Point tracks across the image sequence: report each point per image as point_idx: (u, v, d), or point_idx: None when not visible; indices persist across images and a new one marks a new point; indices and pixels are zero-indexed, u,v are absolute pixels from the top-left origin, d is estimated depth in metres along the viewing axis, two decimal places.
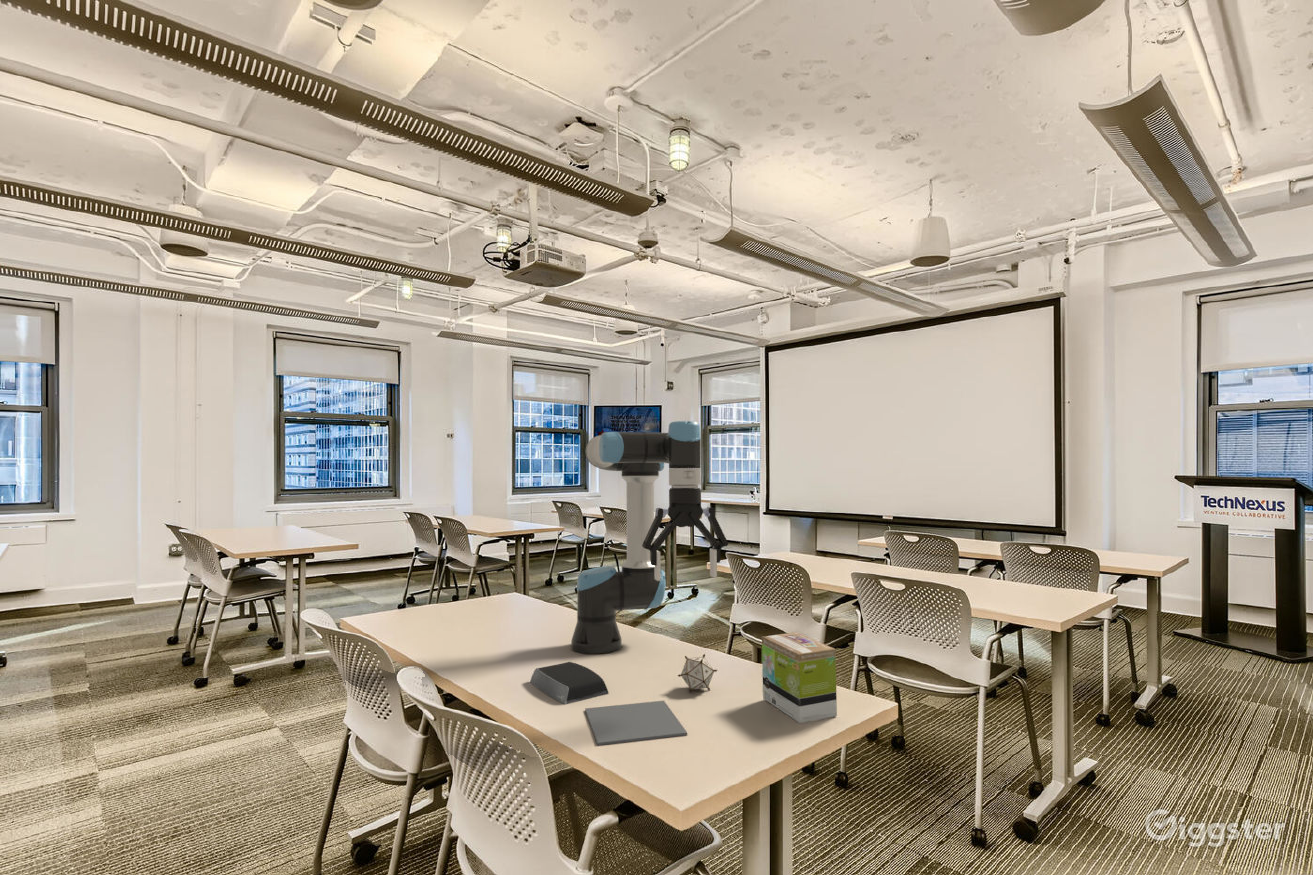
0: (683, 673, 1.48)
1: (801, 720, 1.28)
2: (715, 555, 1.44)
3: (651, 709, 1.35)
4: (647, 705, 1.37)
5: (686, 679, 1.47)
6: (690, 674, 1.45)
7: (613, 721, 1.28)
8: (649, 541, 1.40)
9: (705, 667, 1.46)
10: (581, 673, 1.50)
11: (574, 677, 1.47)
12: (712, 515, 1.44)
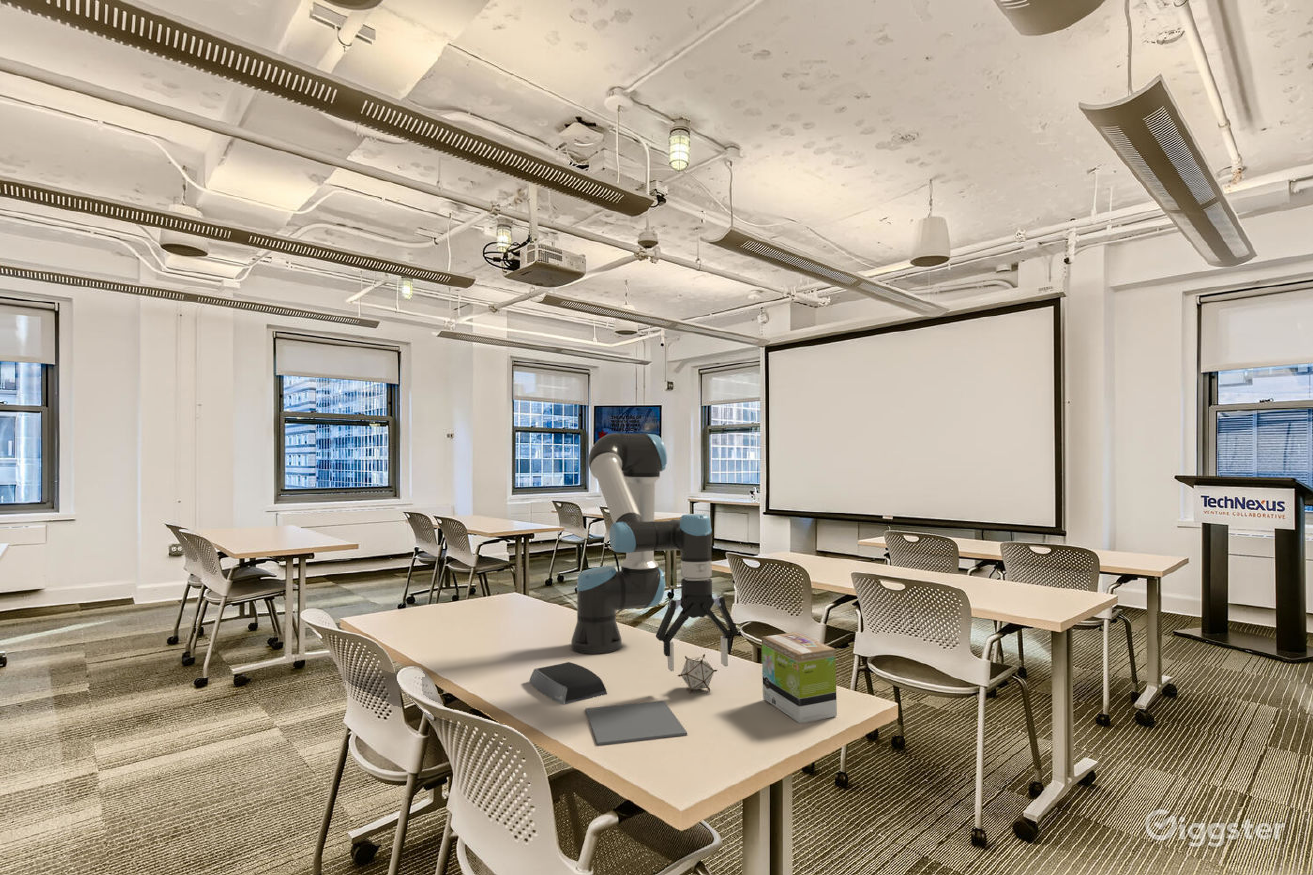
0: (683, 673, 1.48)
1: (801, 720, 1.28)
2: (726, 644, 1.49)
3: (651, 709, 1.35)
4: (647, 705, 1.37)
5: (686, 679, 1.47)
6: (690, 674, 1.45)
7: (613, 721, 1.28)
8: (662, 633, 1.46)
9: (705, 667, 1.46)
10: (579, 673, 1.50)
11: (572, 677, 1.47)
12: (723, 605, 1.50)
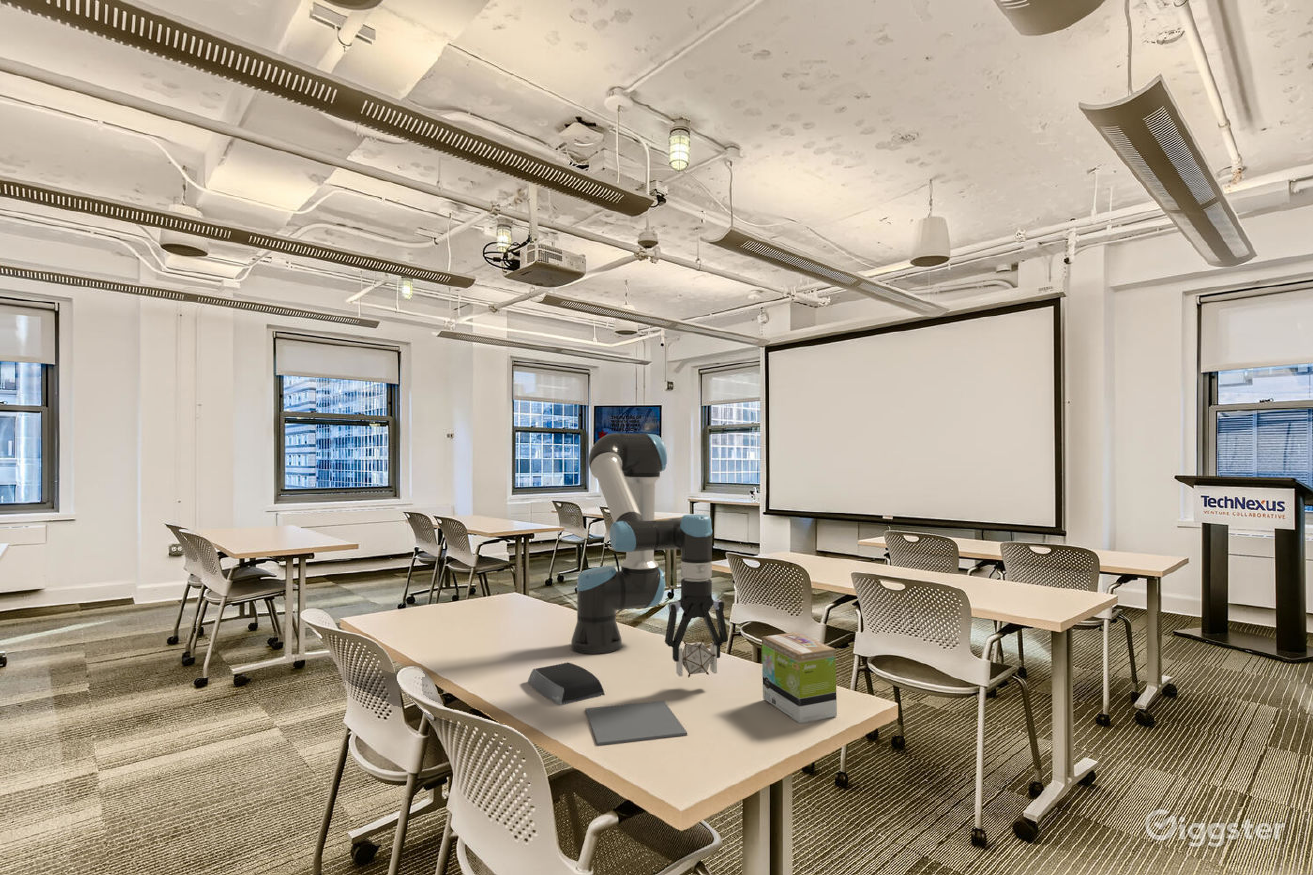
0: (682, 658, 1.49)
1: (801, 720, 1.28)
2: (715, 651, 1.49)
3: (651, 709, 1.35)
4: (647, 705, 1.37)
5: (685, 664, 1.48)
6: (688, 659, 1.46)
7: (613, 721, 1.28)
8: (670, 638, 1.46)
9: (703, 652, 1.47)
10: (577, 674, 1.50)
11: (570, 678, 1.47)
12: (721, 609, 1.50)
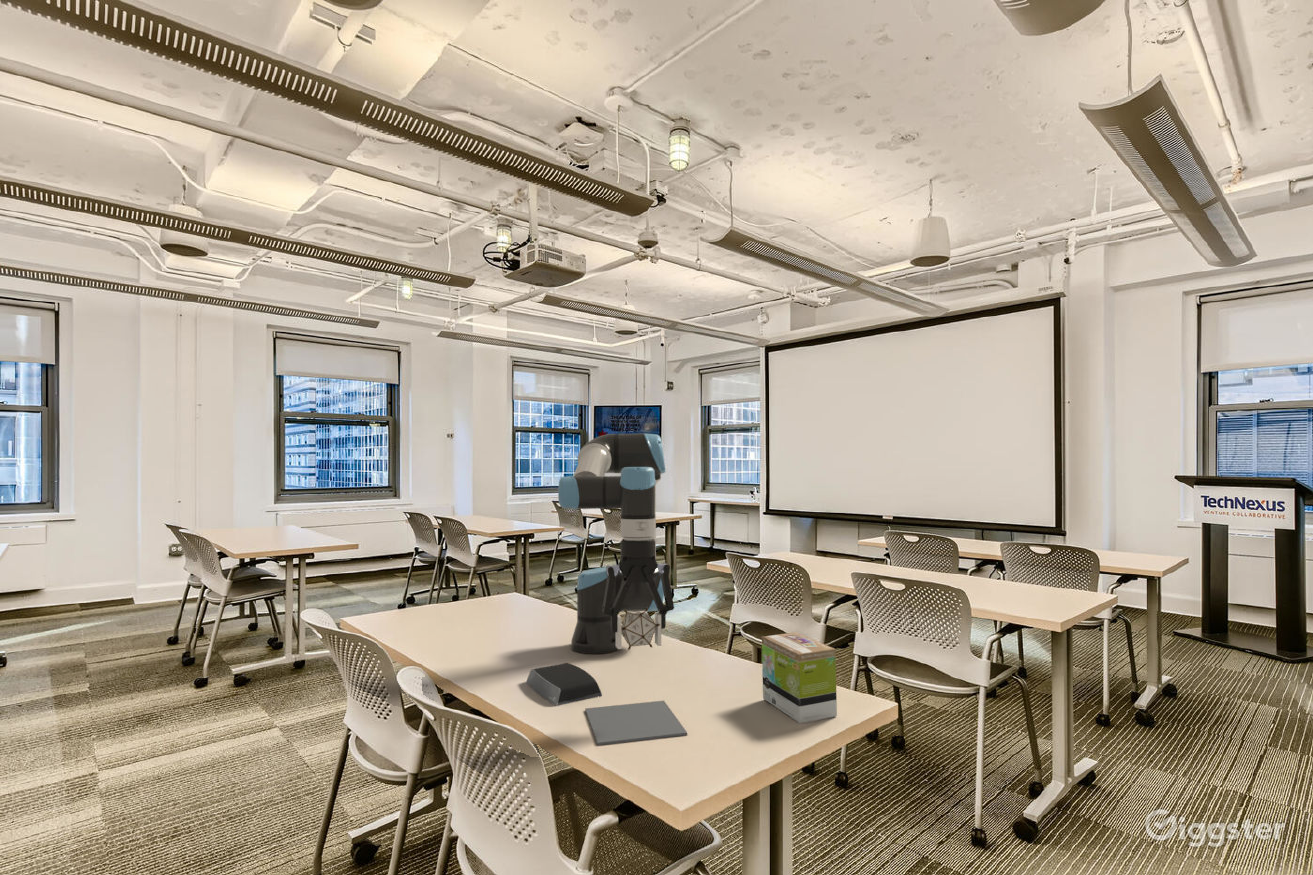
0: None
1: (801, 720, 1.28)
2: (659, 621, 1.31)
3: (651, 709, 1.35)
4: (647, 705, 1.37)
5: (624, 635, 1.30)
6: (627, 629, 1.28)
7: (613, 721, 1.28)
8: (607, 606, 1.29)
9: (645, 621, 1.29)
10: (575, 675, 1.49)
11: (567, 678, 1.47)
12: (666, 573, 1.32)
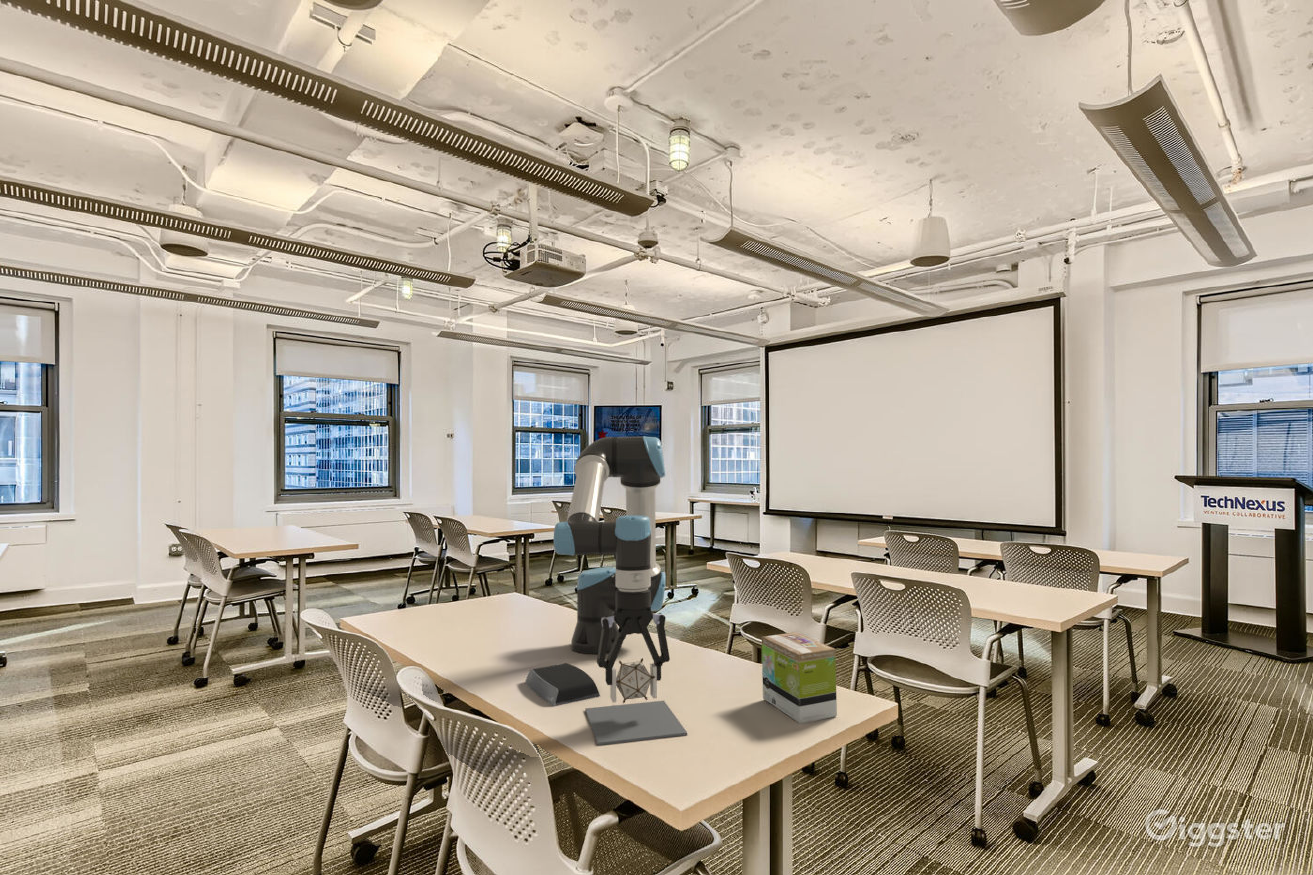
0: (616, 680, 1.29)
1: (801, 720, 1.28)
2: (655, 673, 1.29)
3: (651, 709, 1.35)
4: (647, 705, 1.37)
5: (619, 687, 1.28)
6: (622, 682, 1.27)
7: (613, 721, 1.28)
8: (602, 658, 1.27)
9: (640, 674, 1.28)
10: (574, 675, 1.49)
11: (565, 679, 1.46)
12: (661, 624, 1.31)
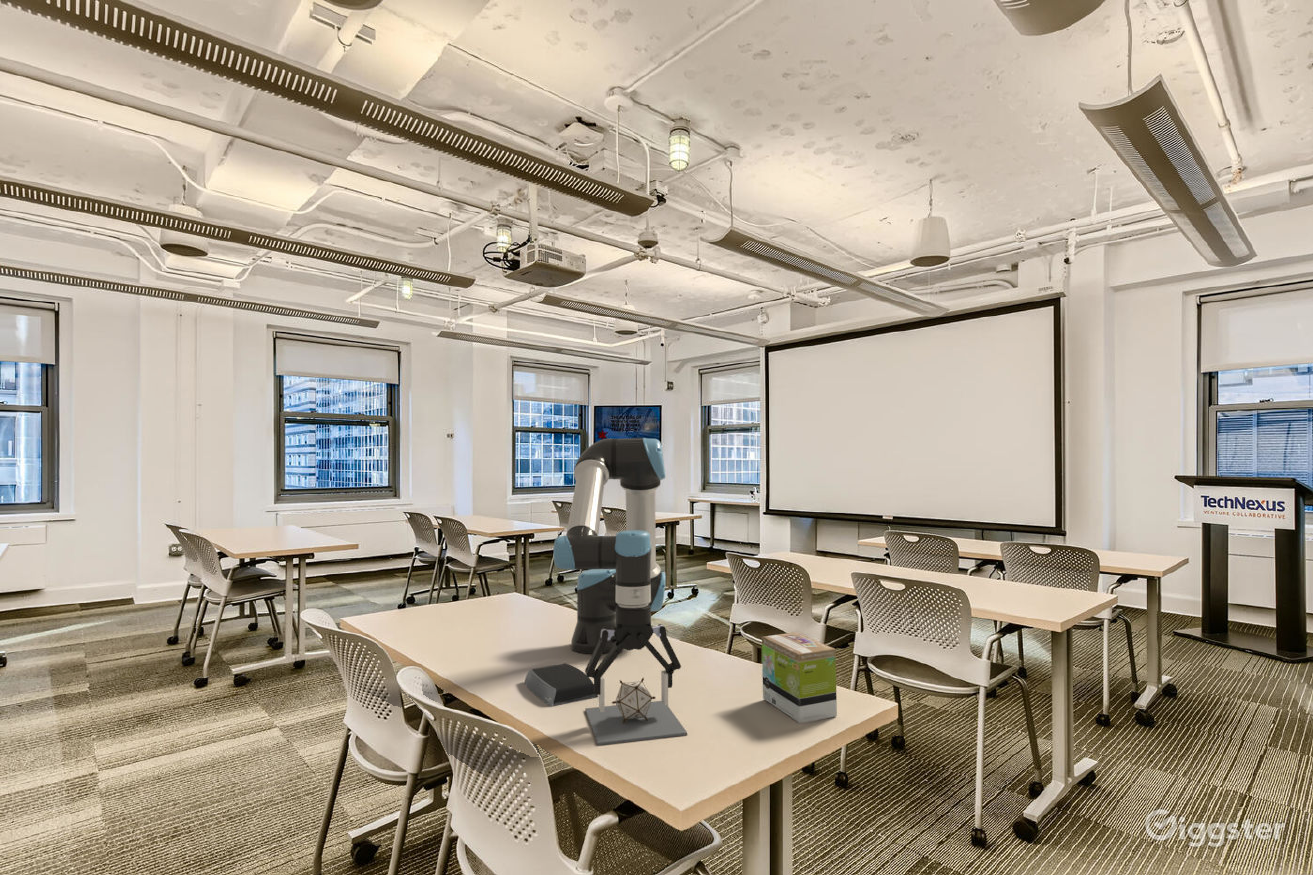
0: (617, 700, 1.29)
1: (801, 720, 1.28)
2: (666, 680, 1.30)
3: (651, 709, 1.35)
4: None
5: (619, 707, 1.28)
6: (623, 702, 1.27)
7: (613, 721, 1.28)
8: (591, 668, 1.26)
9: (641, 694, 1.27)
10: (572, 675, 1.49)
11: (564, 679, 1.46)
12: (663, 635, 1.31)
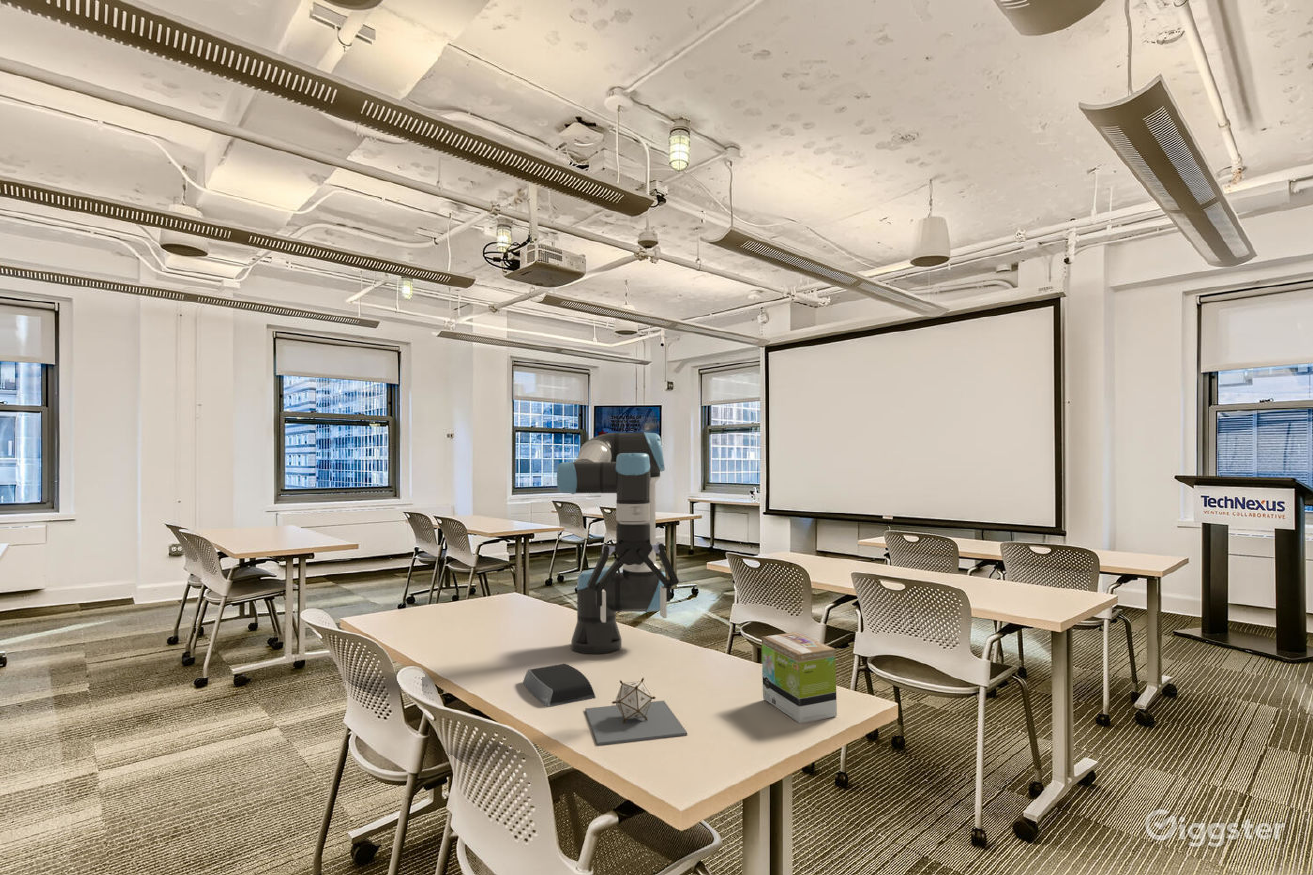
0: (617, 700, 1.29)
1: (801, 720, 1.28)
2: (665, 594, 1.36)
3: (651, 709, 1.35)
4: None
5: (619, 707, 1.28)
6: (623, 702, 1.27)
7: (613, 721, 1.28)
8: (593, 581, 1.33)
9: (641, 694, 1.27)
10: (570, 676, 1.48)
11: (561, 679, 1.46)
12: (662, 552, 1.37)
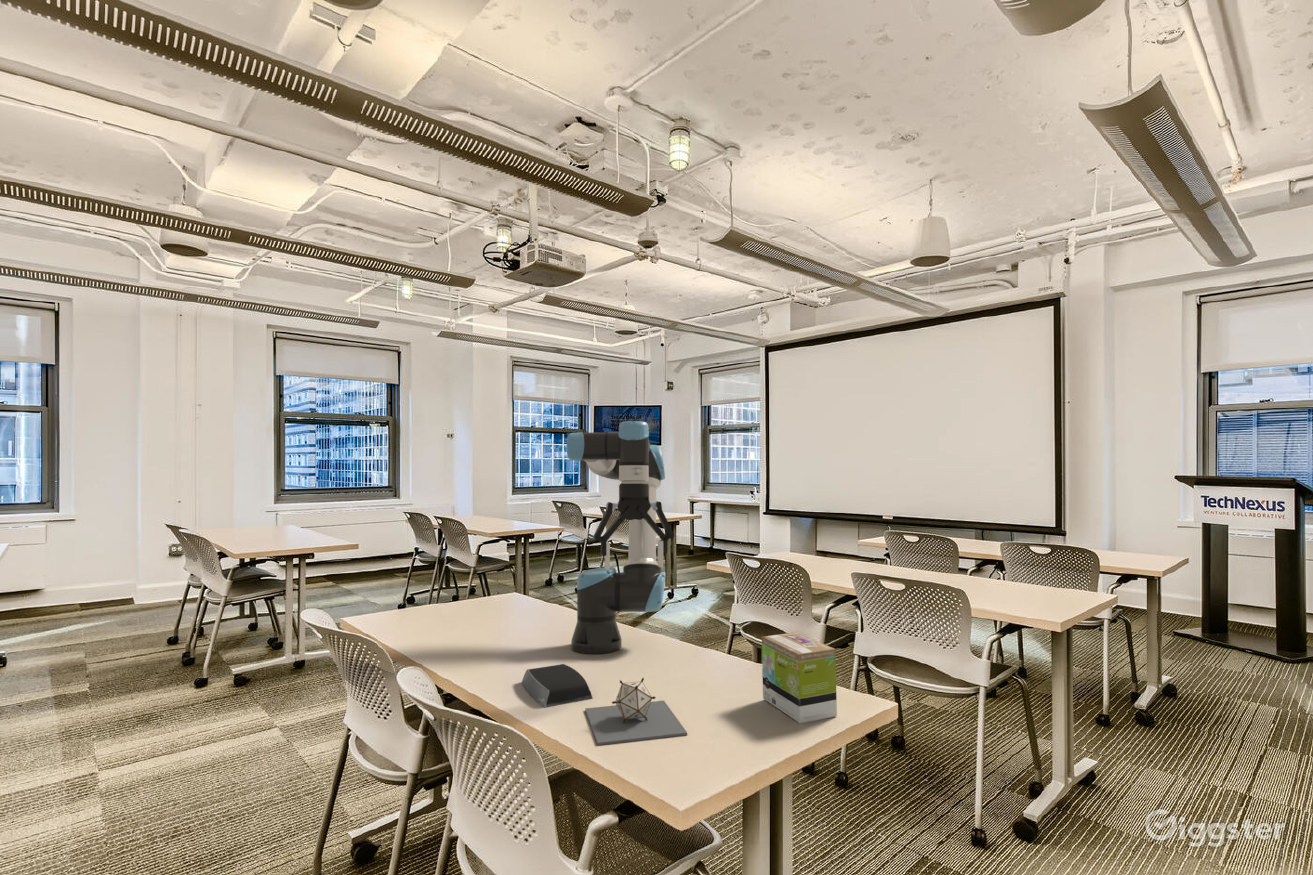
0: (617, 700, 1.29)
1: (801, 720, 1.28)
2: (662, 546, 1.54)
3: (651, 709, 1.35)
4: None
5: (619, 707, 1.28)
6: (623, 702, 1.27)
7: (613, 721, 1.28)
8: (599, 533, 1.50)
9: (641, 694, 1.27)
10: (568, 676, 1.48)
11: (559, 680, 1.45)
12: (659, 509, 1.55)
